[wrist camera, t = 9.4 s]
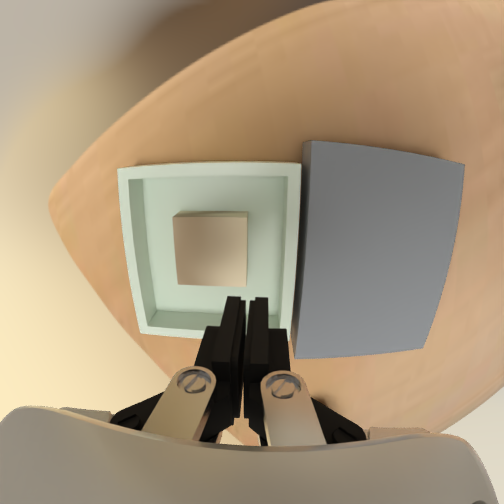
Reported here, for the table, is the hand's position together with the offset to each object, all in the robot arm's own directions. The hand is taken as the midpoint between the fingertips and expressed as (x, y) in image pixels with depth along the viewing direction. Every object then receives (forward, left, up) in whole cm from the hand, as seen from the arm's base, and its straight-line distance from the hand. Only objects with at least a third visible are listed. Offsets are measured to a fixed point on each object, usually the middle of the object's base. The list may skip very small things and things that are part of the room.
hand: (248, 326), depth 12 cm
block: (+3, 0, -8) cm, 9 cm away
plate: (-9, 0, -11) cm, 14 cm away
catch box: (+3, 0, -11) cm, 11 cm away
